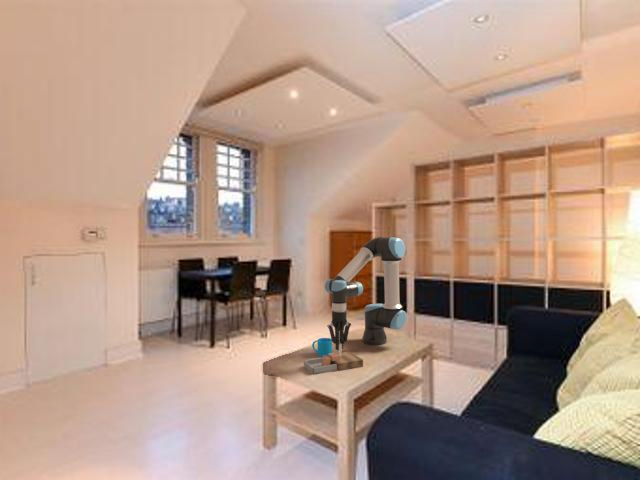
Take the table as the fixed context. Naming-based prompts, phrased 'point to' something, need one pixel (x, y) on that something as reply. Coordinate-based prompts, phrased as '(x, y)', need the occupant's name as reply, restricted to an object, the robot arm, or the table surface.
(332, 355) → the tile
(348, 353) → the brown square slab
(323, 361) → the tile
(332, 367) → the tray
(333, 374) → the table surface
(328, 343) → the mug
